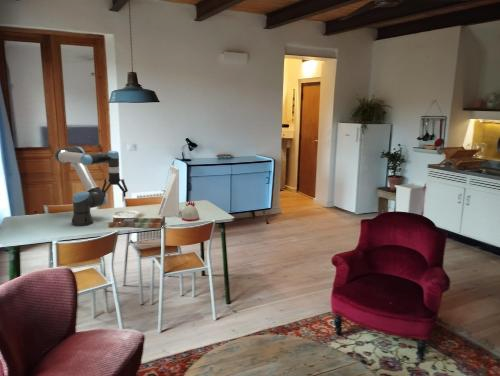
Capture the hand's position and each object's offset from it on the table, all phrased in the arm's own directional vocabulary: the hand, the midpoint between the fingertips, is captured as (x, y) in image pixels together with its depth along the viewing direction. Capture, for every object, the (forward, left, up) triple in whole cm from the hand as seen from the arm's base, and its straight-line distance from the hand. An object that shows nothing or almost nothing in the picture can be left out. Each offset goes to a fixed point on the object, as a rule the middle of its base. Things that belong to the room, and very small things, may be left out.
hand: (115, 201), depth 303 cm
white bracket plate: (+34, +29, -18) cm, 49 cm away
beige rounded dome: (+54, +18, -19) cm, 60 cm away
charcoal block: (+9, 0, -19) cm, 21 cm away
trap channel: (+15, 0, -18) cm, 24 cm away
